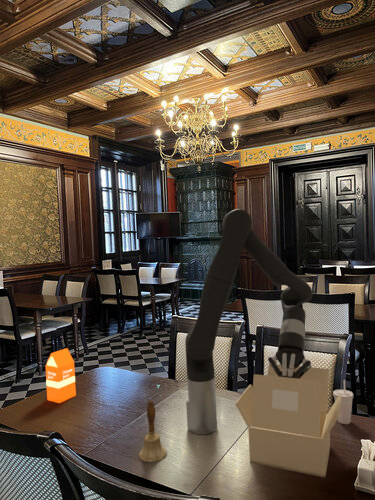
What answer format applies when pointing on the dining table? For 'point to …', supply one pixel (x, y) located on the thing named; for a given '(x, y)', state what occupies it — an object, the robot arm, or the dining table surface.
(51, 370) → the orange juice
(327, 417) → the carton
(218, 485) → the dining table surface
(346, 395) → the smoothie
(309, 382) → the front flap
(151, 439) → the hand bell
